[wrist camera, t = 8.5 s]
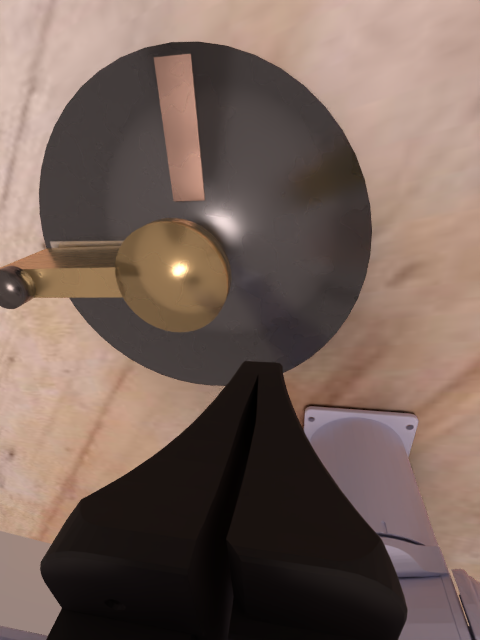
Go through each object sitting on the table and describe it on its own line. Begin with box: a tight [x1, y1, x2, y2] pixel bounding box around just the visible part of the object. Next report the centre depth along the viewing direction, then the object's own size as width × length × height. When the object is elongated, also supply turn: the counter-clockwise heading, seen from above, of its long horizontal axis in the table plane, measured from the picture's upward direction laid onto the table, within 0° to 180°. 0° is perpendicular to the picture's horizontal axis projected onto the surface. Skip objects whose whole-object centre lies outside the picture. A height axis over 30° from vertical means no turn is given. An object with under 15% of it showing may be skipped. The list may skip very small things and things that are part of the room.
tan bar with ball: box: [0, 218, 231, 332], centre depth 18 cm, size 12×6×5 cm, turn 94°
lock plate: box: [39, 42, 372, 386], centre depth 19 cm, size 20×20×4 cm
